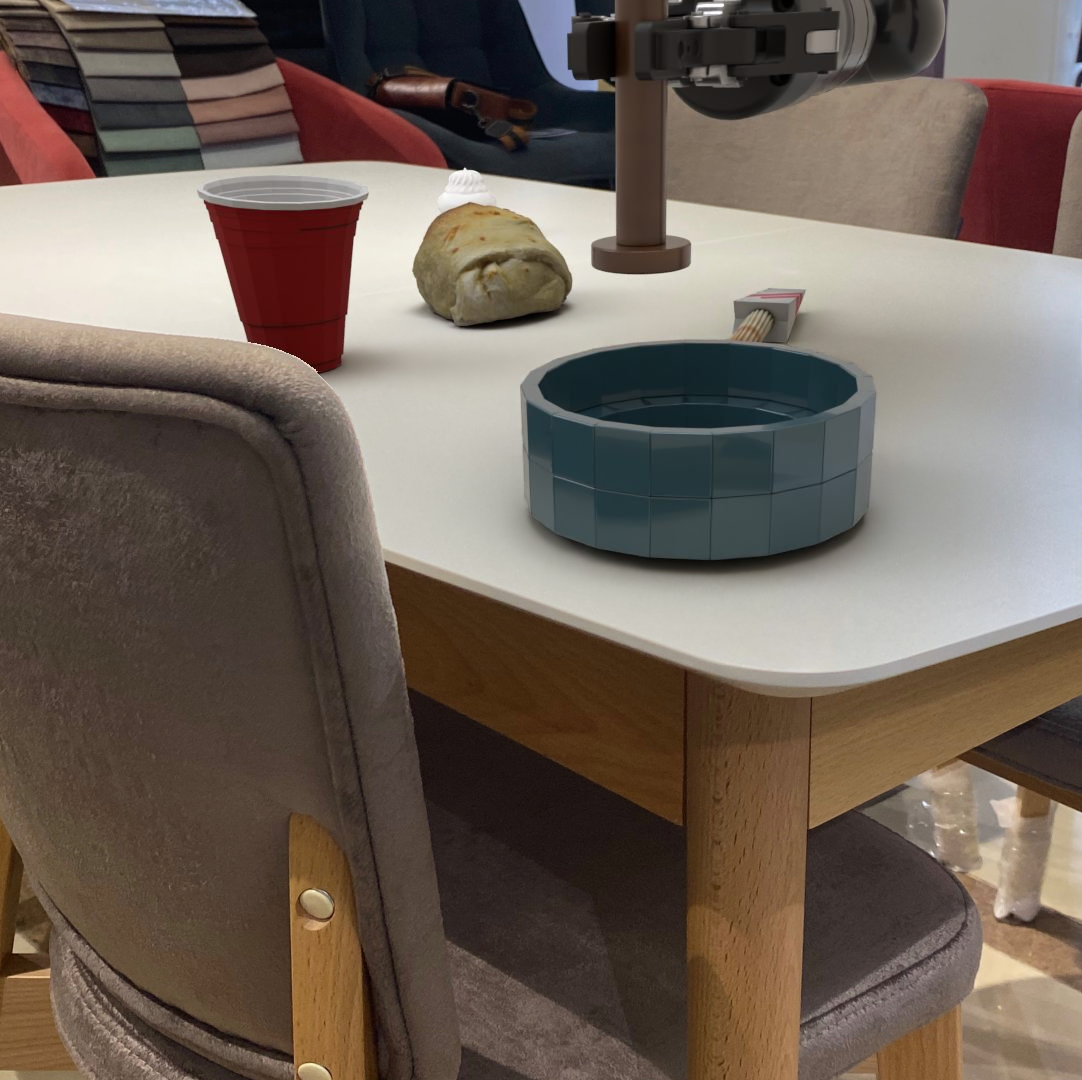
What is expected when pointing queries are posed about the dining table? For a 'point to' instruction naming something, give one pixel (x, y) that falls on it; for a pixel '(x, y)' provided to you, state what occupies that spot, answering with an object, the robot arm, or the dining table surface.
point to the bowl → (698, 447)
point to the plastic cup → (288, 258)
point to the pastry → (489, 266)
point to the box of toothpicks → (766, 315)
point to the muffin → (465, 191)
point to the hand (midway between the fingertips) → (611, 52)
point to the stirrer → (639, 161)
